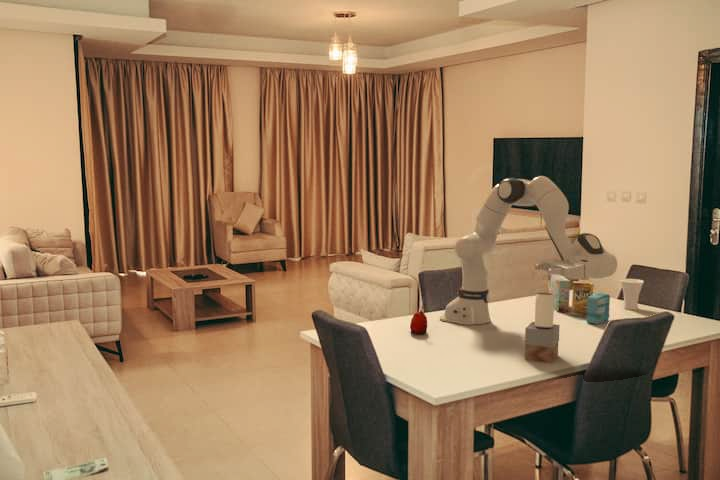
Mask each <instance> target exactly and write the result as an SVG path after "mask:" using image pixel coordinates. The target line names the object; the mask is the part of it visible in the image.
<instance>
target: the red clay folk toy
mask: <svg viewBox="0 0 720 480" xmlns="http://www.w3.org/2000/svg"><path fill="white" fill-rule="evenodd" d="M425 300H426V298H424V300H420V301H421V302H422V305H421V310H420V311H419V312H415V313H414V314H413V316H412V318H411V321H410V326H409V329H410V334H412V333H414V334H415V335H418V334H419V335H425V334H427V330H428V318H427V316H426V314H425V312H424V311H423V309H424V304H427V303H428V301H427V300H426V301H425Z"/></svg>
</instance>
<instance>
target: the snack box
mask: <svg viewBox="0 0 720 480" xmlns="http://www.w3.org/2000/svg"><path fill="white" fill-rule="evenodd" d="M547 274H548V273H547ZM547 278H548V279H547V280H548V281H547V293H552V294H553V297H554V310H556V312H557V313H569V310H570V309H569V307H570V293H571V292H570V291H571V280H570V279H569V278H567V277H564V276H561V275H557V274H548V276H547Z"/></svg>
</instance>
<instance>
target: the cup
mask: <svg viewBox="0 0 720 480" xmlns="http://www.w3.org/2000/svg"><path fill="white" fill-rule="evenodd" d="M619 282H620V284H621V285H620V286H621V288H622V292H623V307H622V308H623V309H625V310H630V311H634V310H635V311H637V310H638V308H639V304H638V303H639V297H640V293H641V290H642V287H643V284H644V282H645V281H644V280H642V279H638V278H622V279H620V280H619Z"/></svg>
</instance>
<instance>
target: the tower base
mask: <svg viewBox="0 0 720 480" xmlns="http://www.w3.org/2000/svg"><path fill="white" fill-rule="evenodd" d="M524 348H525V349H524V360H525V361H528V362H529V361H531V362H537V363H546V364H547V363H548V364H554V363H555V361H556V359H557V358H559V357H558V356H559V342H558V343H557V344H556V345H555V346H554V347H553V348H551V347H543V346H535V345H527V344H525V343H524Z"/></svg>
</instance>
